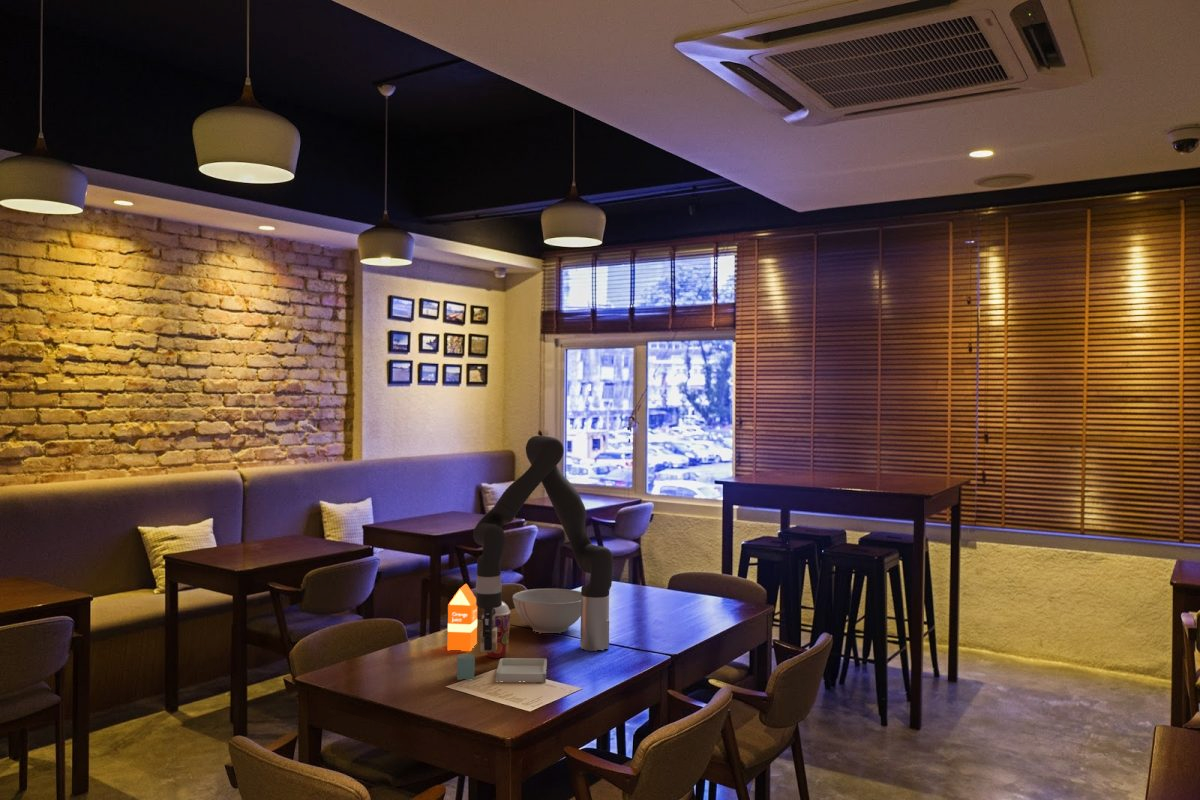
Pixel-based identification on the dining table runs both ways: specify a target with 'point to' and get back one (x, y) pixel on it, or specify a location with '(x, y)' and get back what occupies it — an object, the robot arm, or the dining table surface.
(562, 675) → the dining table surface
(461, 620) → the orange juice
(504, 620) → the smoothie
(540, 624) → the decorative bowl
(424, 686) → the dining table surface
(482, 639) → the beech block
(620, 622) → the dining table surface
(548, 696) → the dining table surface
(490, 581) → the robot arm
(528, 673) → the tray
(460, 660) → the teal block
